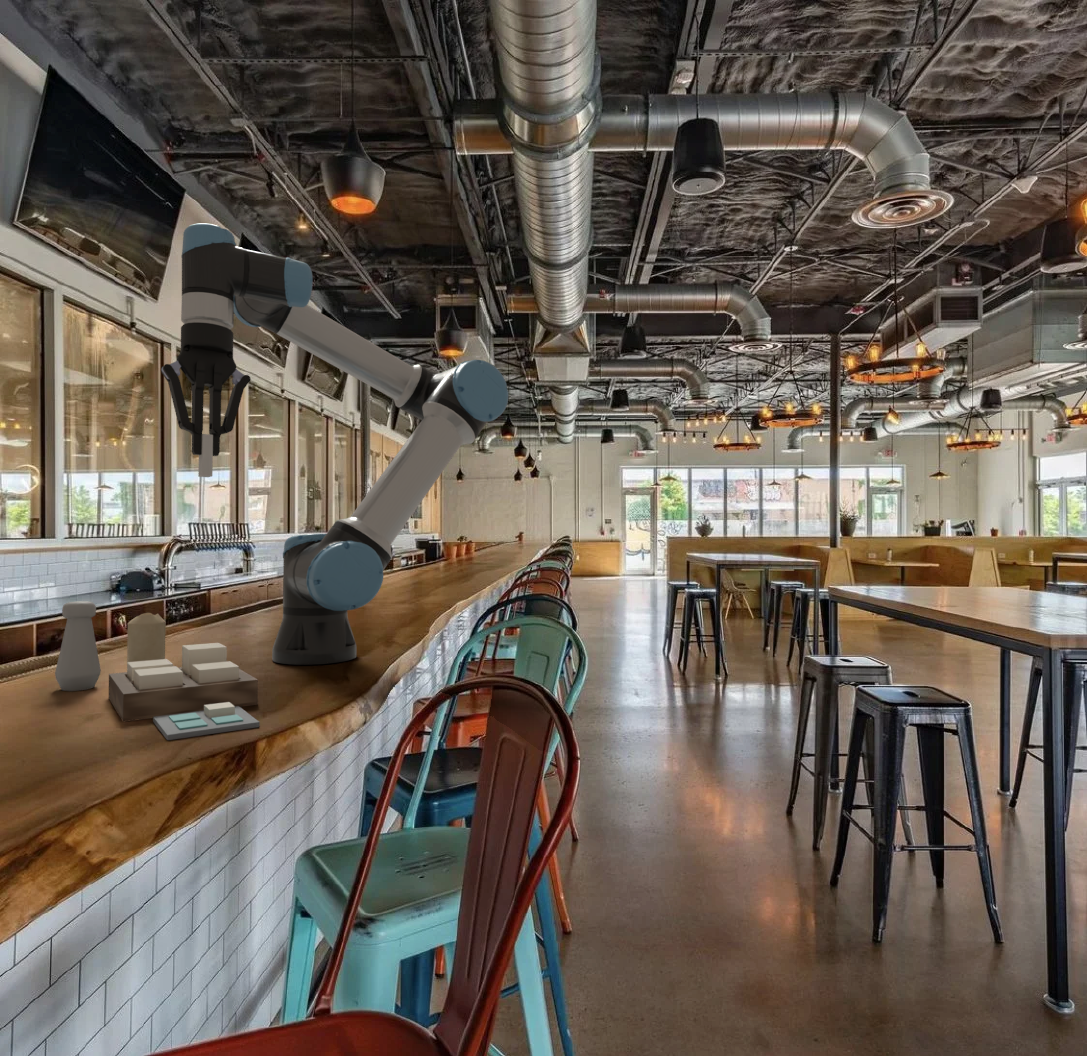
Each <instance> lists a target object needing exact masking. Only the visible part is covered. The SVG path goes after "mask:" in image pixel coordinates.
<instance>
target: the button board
mask: <svg viewBox="0 0 1087 1056" xmlns="http://www.w3.org/2000/svg"><path fill="white" fill-rule="evenodd" d="M177 667H178V666H177ZM178 668H179V669H180V670H181V671H182V666H180V667H178ZM258 688H259V679H257V678H256V677H254V676H252V675H251V674H249V673H247V672H245V671H244V670H242V669H241V668H239V679H237V680H228V681H218V682H209V683H199V684H197V683H196V682H194V681H193V680H192V675H187V674H185V673H184V672H183V685H180V686H171V687H162V688H152V689H143V690H137V689H136V688H135V687H134V681H129V679H128V678H127V671H124V672H115V673H114V672H113V673H108V700H109V701H110V703H111V705H112V706H113V708H114V709H115V711H116V712H117V714H118V716H119V717H120V719H121V720H122V721H121V722H123V723H124V722H132V721H139V720H147V719H153V717H155V716H163V715H171V714H178V713H186V712H194V711H202V710H204V705H208V704H217V703H225V702H230V703H231V704H232V705H234V706H239V707H240V708H242V707H249V706H257V705H259V703H258V700H259V698H258V695H259V694H258V693H259V689H258Z"/></svg>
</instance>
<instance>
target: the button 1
mask: <svg viewBox="0 0 1087 1056" xmlns="http://www.w3.org/2000/svg"><path fill="white" fill-rule="evenodd" d="M172 666H174V663H172V662H171V661H170V660H169V659H167V658H165V659H160V660H148V661H137V662H127V661H126V672H127V678H128V679H129V681H134V670H138V669H149V668H160V667H172Z"/></svg>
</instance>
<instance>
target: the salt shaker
mask: <svg viewBox="0 0 1087 1056" xmlns="http://www.w3.org/2000/svg"><path fill="white" fill-rule="evenodd" d="M96 606H97V605H96V604H95V603H94V602H93V601H88V600H79V601H78V600H77V601H68V602H65V603H64V604H63V606H62V608H61V609H62V610H61V612H62V613H61V614H62V617H63V618H65V619H66V624H65V628H64V633H63V637H62V640H61V641H62V642H61V645H60V650H59V655H58V659H57V664H56V668H55V671H54V676H55V680H56V682H57V684H58V685H59V686H58V687H60V690H61V691H66V692H77V691H83V690H84V691H86V690H90V689H92V688H93V689H94V688H95V686H96V684H97V682H98V679H99V678H100V675H101V672H102V670H101V665H100V658H99V654H98V653H99V652H98V648H97V643H96V637H95V632H94V631H95V630H94V626H93V619H92V618H93V617H95V616H96V614H97V607H96Z"/></svg>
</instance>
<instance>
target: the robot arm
mask: <svg viewBox="0 0 1087 1056" xmlns="http://www.w3.org/2000/svg"><path fill="white" fill-rule="evenodd" d="M182 235H183V238H182V249H181V311H180V312H181V313H180V321H181V322H182V323H183V325H182V326H180V352H179V354H178V355H177V357H176V361H174V362H172V363H170V364H169V363H166V364H164V365H163V366H162V367H161V369H160V373H161V374H162V375H163V377H164V379H165V380H166V382H167V384H168V388H169V391H170V396H171V399H172V404H173V408H174V412H175V416H176V420H177V424H178V427H179V429H180V430H181V431H182V430H183V431H186V432H189V434H190V435H191V454H192V455H193V456H198V471H197V473H198V474H197V475H198V477H199V478H211V477H213V457H218V456H219V455H220V449H221V448H220V446H221V436H222V435H224V434H229V433H231V432H232V431H233V429H234V425H235V422H236V419H237V415H238V411H239V408H240V404H241V400H242V397H243V393H244V390H245V388H246V387H247V386H248V384H249V383H250V382H251V376H250V375H249V374H244V373H242V371H240V370H238V368H237V364H236V362H235V360H234V333H233V331H232V329H233V328H234V326H235V325H234V324H235V323H234V315H235V317H236V318H237V319H238V321H240V322H241V323H242V324H244V325H245V326H247V327H252V328H261V327H262V328H264V329H266V330H268V331H270V332H273V333H274V334H276V335H278V336H279V337H281V338H283V339H285V340H287V341H288V342H290V343H292V344H293V345H296V346H297V347H299V348H301V349H303V350H305V351H306V352H308V353H310V354H311V355H314V356H315V357H317V358H319V359H321V360H323V361H324V362H326V363H328V364H330V365H331V366H333V367H335V368H337V369H339V370H341V371H342V372H345V374H347V375H349V376H352V377H353V378H355V379H357V380H359V381H360V382H362V383H364V384H366V385H367V386H369V387H371V388H373V389H374V390H377V391H378V392H380V393H382V394H384V395H385V396H387V397H389V398H391V399H392V400H393V401H394V404H395V407H397V408H398V409H401V410H402V411H404V412H406V413H408V414H409V415H412V416H413V417H415V418H417V419H418V420H420V422H419V424H418V425H417V427H415V429H414V431H413V432H412V433H411V434H410V436H409V437H408V439H407V440H406V441H405V443H404V444H403V445H402V446H401V448H400V450H398V452H397V454H396V455H395V456H394V457H393V458H392V460H391V461H390V463H389V464H388V465H387V467H386V468H385V470H384V471H383V472H382V474H380V476H379V478H377V480H376V482H375V483H374V484H373V486H372V487H371V488H370V489H369V491H368V493H366V495H365V497H364V498H363V499H362V501H361V502H360V503H359V505H358V506H357V507H356V509H355V510H354V511H353V513H352V514H351V516H349V517H347V518H341V519H340V518H339V519H337V520H336V521H335V522H334V523H333V524H332V526H331V527H330V529H329V530H328V531H327V533H307V534H299V535H292V536H291V537H288V538H287V539H286V540H285V541H284V545H283V552H282V558H283V572H282V573H283V574H282V575H283V576H282V577H283V579H282V580H283V581H282V584H283V585H282V590H283V591H282V619H281V620H282V621H281V622H280V626H279V629H278V631H277V635H276V638H275V640H274V643H273V646H272V649H271V650H272V651H271V652H272V653H271V654H272V655H271V656H272V657H271V659H272V661H273V662H274V663H278V664H283V665H297V666H298V665H300V666H301V665H305V666H307V665H310V666H311V665H326V664H327V665H328V664H335V663H336V664H337V663H344V662H347V661H351V660H353V659H356V658H357V642H356V640H355V637H354V633H353V631H352V627H351V624H350V621H349V617H348V611H352V610H356V609H359V608H362V607H364V606H366V605H367V604H368V603H370V602H371V601H372V600H373V599H374V598H375V597H376V596H377V594H378V593H379V591H380V589H381V588H382V584H383V582H384V571H385V569H386V567H387V566H388V565H389V563H390V562H391V560H392V558H393V555H392V549H391V546H392V544H393V542H394V541H395V540H396V538H397V536H399V534H400V532H401V531H402V529H404V527H405V525H406V524H407V522H408V521H409V520H410V518H412V517H411V516H413V514H414V513H415V512H416V510H417V508H418V507H419V505H420V504H421V503H422V501H423V500H424V498H425V497H426V495H427V494H428V493H429V491H430V490H431V489H432V487H433V486H434V484H435V483H436V481H437V480H438V478H439V477H440V476H441V475H442V473H443V472H444V470H445V469H446V467H447V466H448V464H450V462H451V461H452V459H453V458H454V456H455V455H456V453H457V452H458V451H459V449H460V447H461V446H462V445H463V446H464V445H470V444H472V443H474V441H475V440H476V439H477V437H478V436H479V435H480V433H481V431H482V430H483V429H484V427H485V426H486V424H488V422H493V421H495V420H496V419H498V417H501V415H502V414H503V413H504V412H505V410H506V408H507V407H508V402H509V390H508V384H507V382H506V379H505V377H504V375H503V374H502V372H501V371H499V369H498V368H497V367H496V366H494V364H491V363H490V362H488V361H486V360H482V359H471V360H464V361H463V362H460V364H458V365H456V366H454V367H451V368H449V369H447V370H445V371H443V372H442V371H441V372H438V371H433V370H429V369H427V368H425V367H424V366H422V365H420V364H414V365H411V364H409V363H407V362H405V361H404V360H402V359H401V358H398V357H397V356H395V355H393V354H392V353H390V352H388V351H386V350H385V349H383V348H381V346H378V345H377V344H374V343H373V342H371V341H370V340H367V339H366V338H364V337H363V336H361V335H359V334H357V332H354V331H352V330H351V329H349V328H347V327H345V326H344V325H342V324H341V323H339V322H337V321H335V320H333V319H332V318H330V317H328V316H327V315H325V314H323V313H321V312H320V311H318V310H316V309H315V308H313V307H311V306H310V305H309V303H310V300H311V296H312V292H313V272H312V269H311V267H310V265H309V264H308V263H307V262H305V261H301V260H296V259H293V258H291V257H288V256H286V257H284V256H280V255H279V256H278V255H275V254H270V253H266V252H260V251H255V250H252V249H251V250H250V249H246V248H243V247H240V246H237V243H236V239H235V236H234V234H233V233H232V232H231V231H230V230H228V229H227V228H223V227H221V226H219V225H216V224H212V223H194V224H190V225H189V226H187V227H186V228H185V229H184V231H183V234H182ZM180 370H181V371H182V373H183V374H184V375H185V378H187V380H188V381H189V382H190V383H191V385H190V386H191V421H190V415H189V413H188V409H187V405H186V400H185V397H184V393H183V387H182V385H181V381H180V378H179V376H181V371H180ZM231 377H232V380H231V382H232V384H233V387H232V390H231V392H230V397H229V399H228V402H227V406H226V410H225V414H224V417H223V421H222V390H223V385H225V383H226V382H227V381H228V379H229V378H231ZM205 387H208V394H209V400H208V401H209V407H208V411H209V412H208V414H209V415H208V417H209V418H208V433H207V434H206V433H203V431H204V397H205V396H204V393H205Z"/></svg>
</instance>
